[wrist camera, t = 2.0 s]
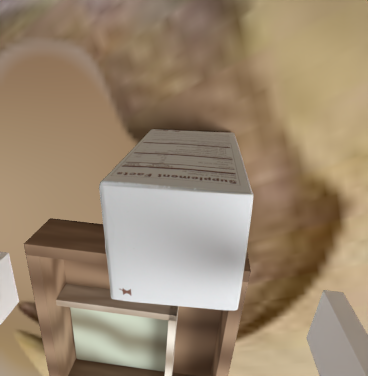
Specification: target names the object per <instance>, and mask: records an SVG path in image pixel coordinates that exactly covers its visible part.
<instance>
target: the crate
mask: <svg viewBox="0 0 368 376" xmlns="http://www.w3.org/2000/svg"><path fill="white" fill-rule="evenodd" d="M24 247H25V253H26V258H27V263H28V268H29V273H30V278H31V284H32V288H33V294H34V299H35V304H36V309H37V314H38V320H39V325H40V330H41V335H42V340H43V345H44V350H45V356H46V361H47V366H48V371H49V376H228V374H229V369H230V364H231V360H232V355H233V350H234V346H235V341H236V337H237V332H238V327H239V323H240V318H241V314H242V309H243V304H244V300H245V295H246V291H247V286H248V281H249V277H250V272H251V271H250V265H249V259H248V254H247V251H246V259H245V266H244V273H243V280H242V287H241V294H240V300H239V305H238V309H237V310H236V311H233V310H216V309H206V308H194V307H183V306H173V305H161V304H150V303H139V302H129V301H122V300H115V299H112V298H111V294H110V282H109V273H108V264H107V255H106V249H105V235H104V226H103V224H94V223H86V222H77V221H69V220H60V219H49V220H48V221H47V222H46V223H45V224H44V225H43V226H42V227H41V228H40V229H39V230H38V231H37V232H36V233H35V234H34V235H33V236H32V237H31V238H29V239H28V240H27V241H26V242H25V243H24Z"/></svg>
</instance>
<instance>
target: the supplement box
mask: <svg viewBox="0 0 368 376" xmlns="http://www.w3.org/2000/svg"><path fill="white" fill-rule="evenodd" d="M99 188H100V199H101V207H102V216H103V226H104V235H105V249H106V255H107V264H108V273H109V282H110V294H111V298H112V299H115V300H122V301H129V302H139V303H150V304H161V305H173V306H183V307H194V308H206V309H216V310H233V311H236V310H237V309H238V305H239V300H240V294H241V287H242V280H243V273H244V266H245V259H246V251H247V243H248V236H249V228H250V221H251V213H252V204H253V193H252V190H251V187H250V183H249V180H248V176H247V174H246V170H245V166H244V163H243V159H242V156H241V153H240V150H239V147H238V143H237V140H236V138H235V134H234V133H227V132H203V131H181V130H160V129H151V130H150V131H149V132H148V133H147V134H146V135H145V137H144V138H143V139H142V140H141V141H140V142H139V143H138V144H137V145H136V146H135V147H134V148H133V149H132V150H131V151H130V152H129V153H128V154H127V155H126V157H125V158H124V159H123V160H122V161H121V162H120V163H119V164H118V165H117V166H116V167H115V168H114V169H113V170H112V171H111V172H110V173H109V174H108V175H107V176H106V177H105V178H104V179H103V180H102V181H101V182H100V187H99Z"/></svg>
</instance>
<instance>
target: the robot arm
mask: <svg viewBox="0 0 368 376" xmlns="http://www.w3.org/2000/svg"><path fill="white" fill-rule="evenodd" d="M18 302H19V298H18V294H17V289H16V284H15V280H14V275H13V271H12V266H11V261H10V256H9V253H6V252H0V324H1V323H2V322H3V321H4V320H5V318H6V317H7V316H8V315H9V313H10V312H11V311H12V310H13V308H14V307H15V306H16V305H17V304H18ZM307 341H308V344H309V347H310V350H311V352H312V355H313V358H314V361H315V364H316V367H317V370H318V372H319V375H320V376H368V335H367V333H366V331H365V329H364V328H363V326H362V324H361V323H360V321H359V319H358V317H357V316H356V314H355V312H354V310H353V309H352V307H351V305H350V304H349V302H348V300H347V298H346V297H345V295H344V293H343V292H335V291H327V290H323V293H322V296H321V299H320V302H319V304H318V307H317V310H316V313H315V316H314V318H313V321H312V324H311V327H310V330H309V332H308V335H307Z"/></svg>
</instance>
